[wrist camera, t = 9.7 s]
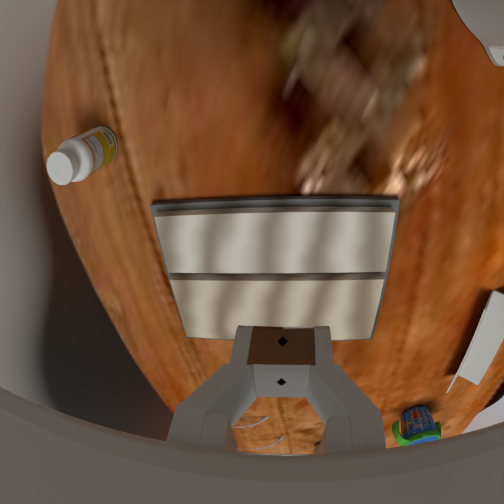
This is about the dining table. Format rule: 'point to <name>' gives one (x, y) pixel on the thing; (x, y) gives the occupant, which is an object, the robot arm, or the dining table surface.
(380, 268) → the floor panel
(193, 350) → the dining table surface
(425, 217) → the dining table surface
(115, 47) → the dining table surface
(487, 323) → the z bracket
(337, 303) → the loose plank
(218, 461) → the robot arm
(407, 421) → the snack cup
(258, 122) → the dining table surface
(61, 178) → the supplement bottle
